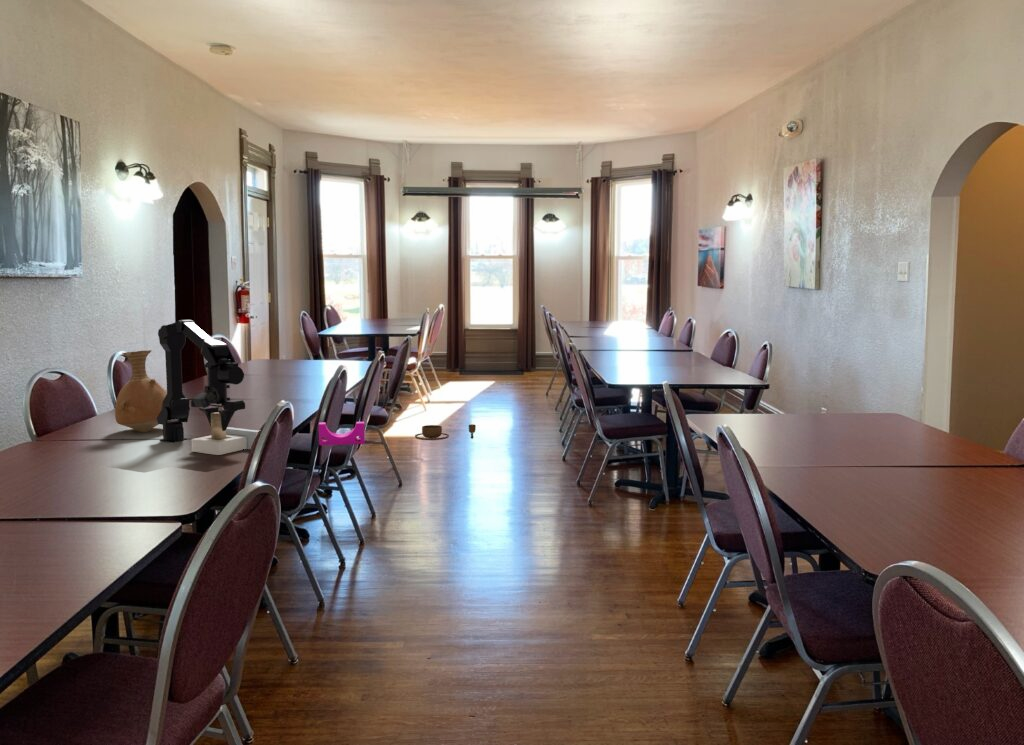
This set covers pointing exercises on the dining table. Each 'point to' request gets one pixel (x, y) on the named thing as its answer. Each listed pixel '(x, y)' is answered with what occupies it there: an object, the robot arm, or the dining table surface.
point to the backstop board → (243, 434)
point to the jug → (139, 396)
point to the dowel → (217, 427)
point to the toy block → (342, 435)
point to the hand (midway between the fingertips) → (218, 430)
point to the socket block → (219, 444)
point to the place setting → (438, 432)
